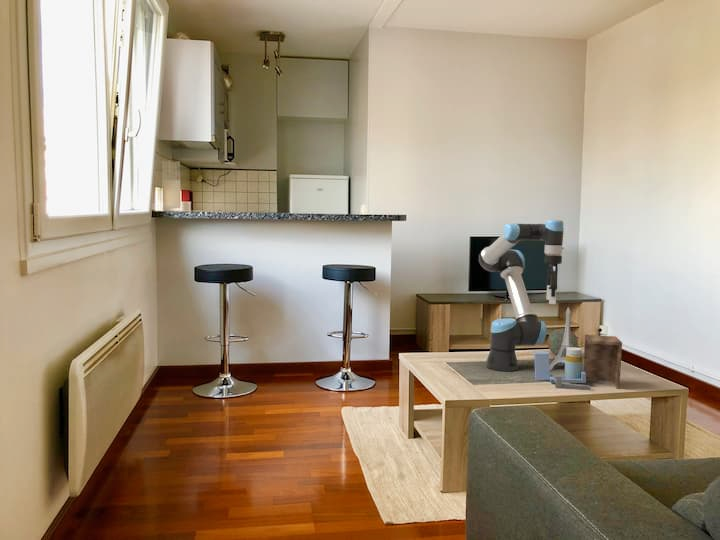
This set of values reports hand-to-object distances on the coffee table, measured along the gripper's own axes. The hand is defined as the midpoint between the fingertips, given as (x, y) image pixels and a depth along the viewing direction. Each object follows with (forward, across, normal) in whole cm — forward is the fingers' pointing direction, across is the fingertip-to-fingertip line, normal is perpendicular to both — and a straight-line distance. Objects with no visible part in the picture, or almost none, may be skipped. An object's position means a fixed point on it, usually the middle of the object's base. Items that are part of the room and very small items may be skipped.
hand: (550, 301), depth 265 cm
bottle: (+35, -5, -10) cm, 37 cm away
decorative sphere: (+35, +44, -11) cm, 57 cm away
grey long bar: (+35, -16, -9) cm, 39 cm away
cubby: (+35, -4, -22) cm, 41 cm away
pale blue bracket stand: (+34, -6, -5) cm, 35 cm away
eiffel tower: (+35, +18, -10) cm, 41 cm away
